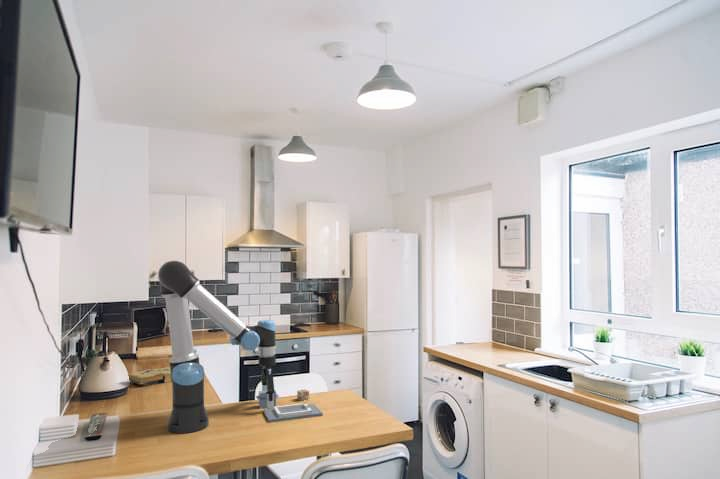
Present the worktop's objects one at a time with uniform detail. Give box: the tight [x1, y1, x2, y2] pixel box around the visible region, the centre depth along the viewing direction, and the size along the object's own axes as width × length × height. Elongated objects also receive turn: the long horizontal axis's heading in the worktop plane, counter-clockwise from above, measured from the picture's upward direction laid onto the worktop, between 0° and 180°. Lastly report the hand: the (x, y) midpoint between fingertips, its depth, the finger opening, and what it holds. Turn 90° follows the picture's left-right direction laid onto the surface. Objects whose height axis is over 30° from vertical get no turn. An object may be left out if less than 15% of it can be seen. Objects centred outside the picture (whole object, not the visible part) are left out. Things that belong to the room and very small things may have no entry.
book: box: [127, 365, 172, 387], centre depth 266 cm, size 25×17×6 cm, turn 137°
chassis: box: [262, 402, 324, 423], centre depth 206 cm, size 22×14×2 cm, turn 110°
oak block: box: [296, 389, 310, 402], centre depth 227 cm, size 4×4×4 cm
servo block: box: [255, 389, 280, 409], centre depth 217 cm, size 9×4×7 cm, turn 110°
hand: (267, 404), depth 217 cm, fingers open, 13 cm apart
